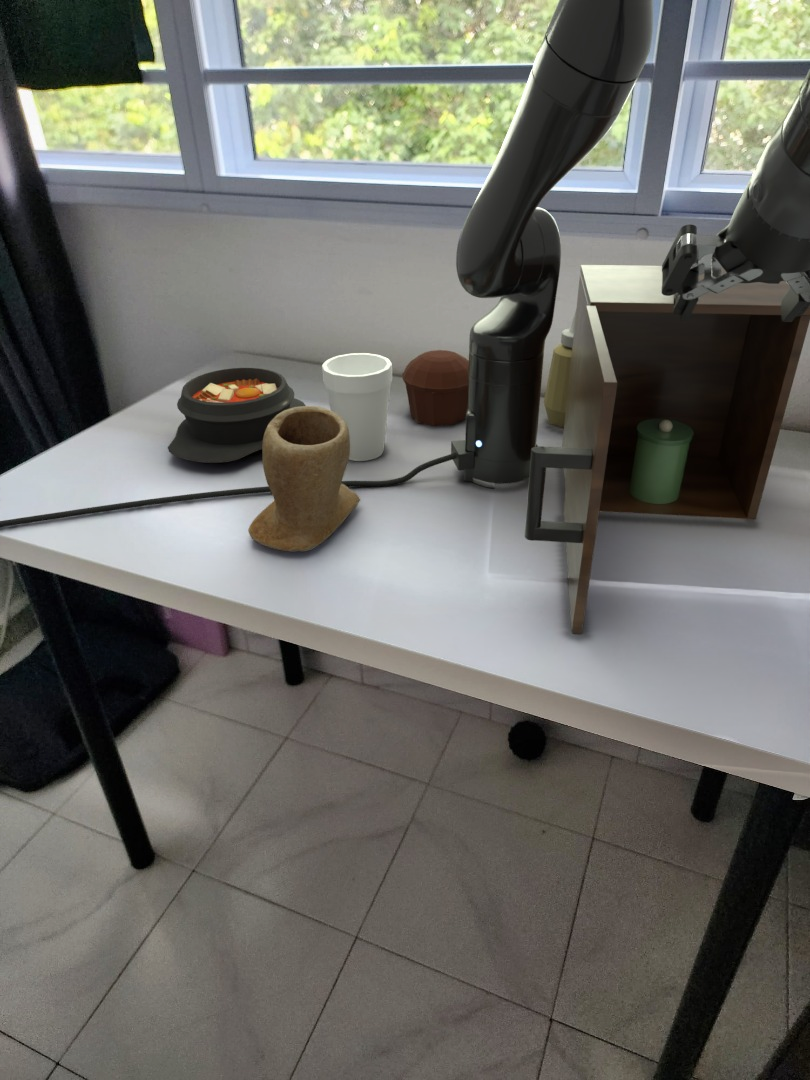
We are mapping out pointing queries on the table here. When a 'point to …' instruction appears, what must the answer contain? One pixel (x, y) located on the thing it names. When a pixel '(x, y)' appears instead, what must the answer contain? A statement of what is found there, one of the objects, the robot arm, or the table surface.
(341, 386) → the foam cup
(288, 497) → the stone cup
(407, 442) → the table surface
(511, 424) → the robot arm
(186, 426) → the casserole
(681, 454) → the pot
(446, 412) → the muffin
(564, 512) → the cupboard door
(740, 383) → the cupboard
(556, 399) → the squeeze bottle
